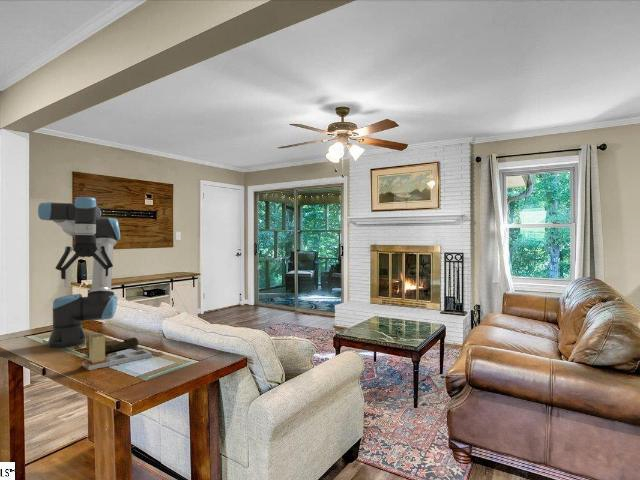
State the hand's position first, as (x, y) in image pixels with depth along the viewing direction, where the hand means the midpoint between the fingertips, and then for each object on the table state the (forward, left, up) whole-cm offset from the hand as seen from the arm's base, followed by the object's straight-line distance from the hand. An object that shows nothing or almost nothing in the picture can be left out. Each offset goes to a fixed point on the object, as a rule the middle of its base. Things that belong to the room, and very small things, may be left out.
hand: (85, 285), depth 155 cm
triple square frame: (+9, +10, -31) cm, 34 cm away
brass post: (+9, +2, -31) cm, 33 cm away
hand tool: (-8, +15, -32) cm, 36 cm away
